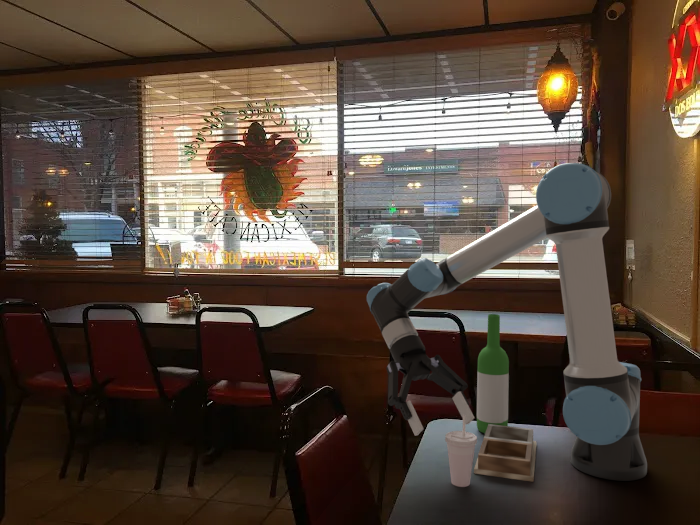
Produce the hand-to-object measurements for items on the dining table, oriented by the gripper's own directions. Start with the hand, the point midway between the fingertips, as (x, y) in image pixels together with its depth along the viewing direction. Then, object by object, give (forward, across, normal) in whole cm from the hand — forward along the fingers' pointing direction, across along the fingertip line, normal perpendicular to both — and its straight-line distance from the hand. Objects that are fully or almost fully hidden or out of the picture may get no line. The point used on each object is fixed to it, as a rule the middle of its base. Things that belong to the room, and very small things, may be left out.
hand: (445, 426), depth 119 cm
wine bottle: (-3, -28, -18) cm, 33 cm away
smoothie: (+10, -1, -5) cm, 11 cm away
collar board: (+7, -18, -7) cm, 21 cm away
